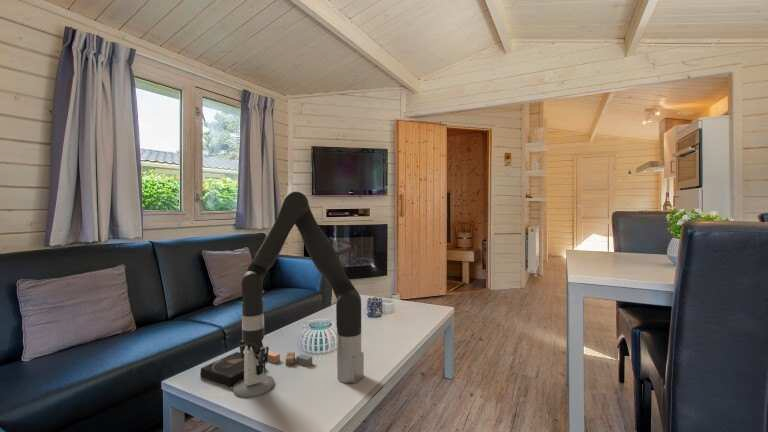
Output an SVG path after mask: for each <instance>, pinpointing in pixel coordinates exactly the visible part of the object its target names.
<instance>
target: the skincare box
mask: <svg viewBox="0 0 768 432" xmlns="http://www.w3.org/2000/svg"><path fill="white" fill-rule="evenodd" d="M260 352H261V351H260ZM243 354H244V381H245V383H246V385H247V386H249V385H252V384H256V383H259V382H263V381H264V375H265V369H264V364H263V373H262V374H260V375H256V361H255V359H253V355H252V351H251V350H250V349H248V350H247V349H244V351H243ZM258 355H260V353H259V354H257V355H256V356H258ZM258 360H259V361H260V357H259V358H258Z"/></svg>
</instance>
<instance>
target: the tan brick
mask: <svg viewBox="0 0 768 432" xmlns="http://www.w3.org/2000/svg"><path fill="white" fill-rule="evenodd" d="M295 361H296V351H289V352H287V353H286V357H285V366H293V365H294V363H295Z"/></svg>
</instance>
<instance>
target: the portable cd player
mask: <svg viewBox="0 0 768 432" xmlns="http://www.w3.org/2000/svg"><path fill="white" fill-rule="evenodd" d="M265 369H266V363H264V370H265ZM199 375H200V378H203V379H205V380H208V381H211V382H214V383H216V384H219V385H223V386H226V387H228V388H233V386H234V384H235V383H236V382H237V381H239V380H241V379H243V378H244V358H241V354H240V352H239V351H235V352H233V353H231V354H229V355H226V356H225V357H223V358H220V359H218V360H216V361H214V362H212V363H209V364H207V365H204V366H202V367H201V368H200V373H199Z"/></svg>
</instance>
